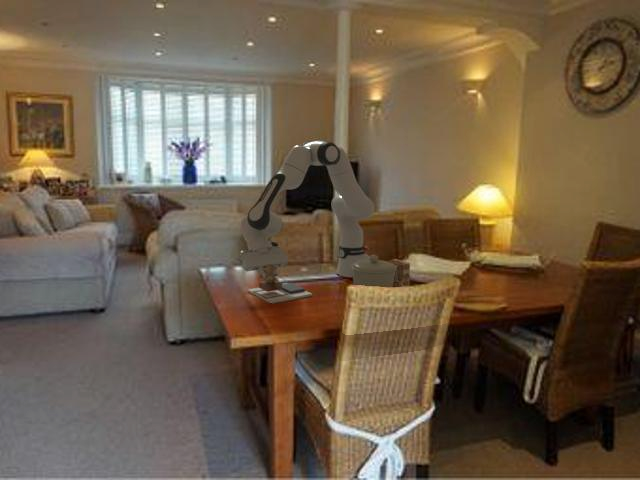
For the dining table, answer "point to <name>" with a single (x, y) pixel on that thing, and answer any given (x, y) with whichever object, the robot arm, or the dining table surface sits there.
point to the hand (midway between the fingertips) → (271, 276)
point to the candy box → (401, 273)
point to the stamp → (270, 280)
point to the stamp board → (281, 293)
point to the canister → (373, 272)
